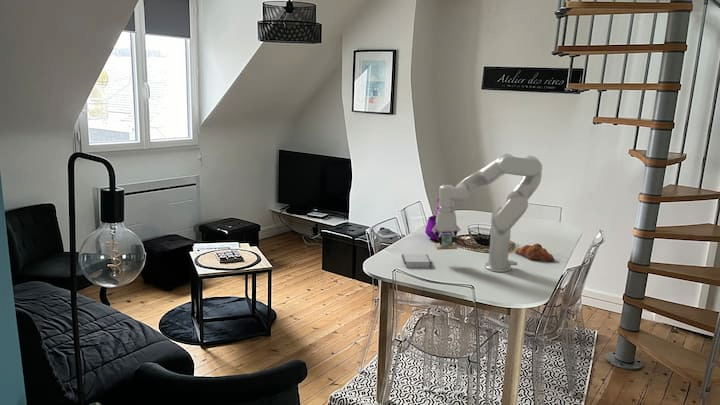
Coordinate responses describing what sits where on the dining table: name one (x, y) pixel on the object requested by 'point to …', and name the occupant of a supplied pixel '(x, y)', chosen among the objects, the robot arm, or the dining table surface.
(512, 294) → the dining table surface
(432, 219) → the decorative plant
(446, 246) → the pallet
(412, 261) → the dock
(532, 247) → the pastry
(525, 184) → the robot arm
